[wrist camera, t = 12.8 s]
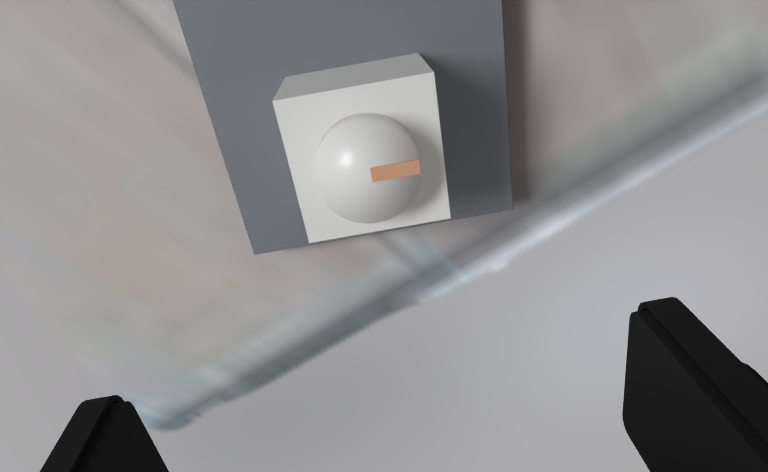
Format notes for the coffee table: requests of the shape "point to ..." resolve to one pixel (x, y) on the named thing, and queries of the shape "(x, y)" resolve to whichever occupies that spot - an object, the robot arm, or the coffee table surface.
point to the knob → (364, 146)
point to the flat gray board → (337, 49)
